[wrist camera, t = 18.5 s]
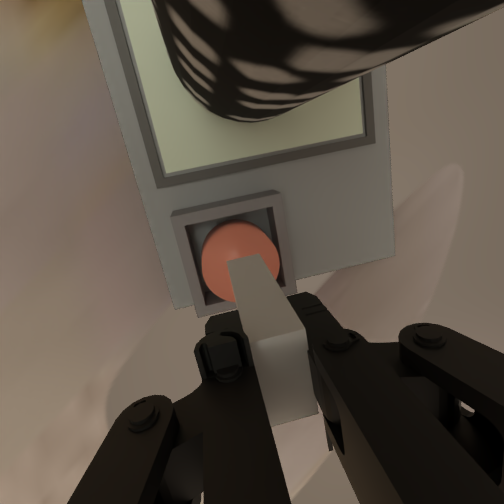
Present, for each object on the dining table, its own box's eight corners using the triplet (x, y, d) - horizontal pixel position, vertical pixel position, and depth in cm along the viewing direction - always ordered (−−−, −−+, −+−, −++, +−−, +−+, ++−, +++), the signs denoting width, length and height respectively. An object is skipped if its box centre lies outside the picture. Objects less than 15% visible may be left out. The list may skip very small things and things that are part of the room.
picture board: (59, -91, 15) (25, -149, 12) (365, -129, 16) (400, -189, 13) (175, 302, 21) (172, 325, 18) (387, 251, 23) (414, 265, 20)
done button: (193, 227, 18) (193, 238, 16) (263, 212, 18) (272, 220, 16) (210, 291, 19) (211, 310, 17) (275, 276, 19) (285, 292, 17)
